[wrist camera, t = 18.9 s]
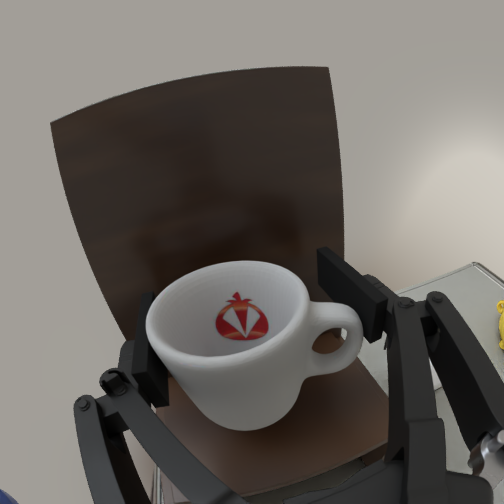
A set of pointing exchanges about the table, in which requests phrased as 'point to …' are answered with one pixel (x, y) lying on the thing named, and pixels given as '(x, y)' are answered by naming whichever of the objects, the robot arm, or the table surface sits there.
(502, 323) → the teapot
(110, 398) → the robot arm
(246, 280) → the cup
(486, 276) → the table surface
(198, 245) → the wooden chair
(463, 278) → the table surface
